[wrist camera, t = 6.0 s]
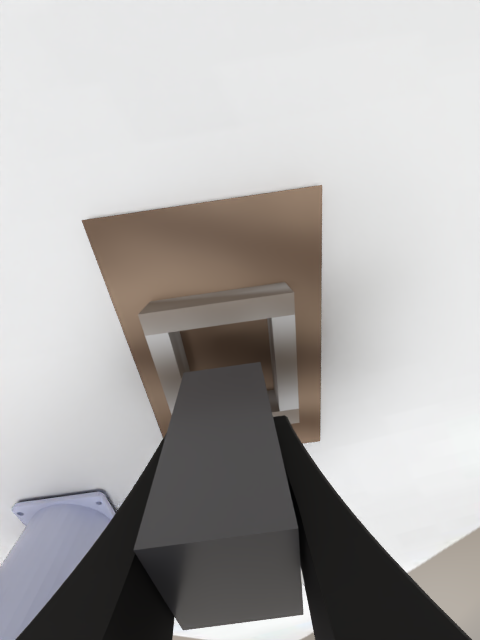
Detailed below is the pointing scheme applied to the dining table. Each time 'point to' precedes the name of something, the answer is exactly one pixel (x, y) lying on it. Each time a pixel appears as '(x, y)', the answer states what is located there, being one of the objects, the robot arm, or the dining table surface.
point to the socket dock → (221, 295)
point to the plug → (222, 506)
